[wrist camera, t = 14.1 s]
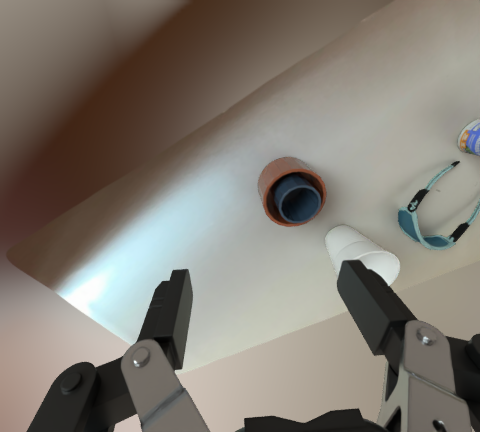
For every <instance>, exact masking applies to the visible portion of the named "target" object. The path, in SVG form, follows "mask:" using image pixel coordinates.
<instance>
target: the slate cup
mask: <svg viewBox="0 0 480 432" xmlns="http://www.w3.org/2000/svg"><path fill="white" fill-rule="evenodd" d="M270 192H271V194H272V196H273V199H274V201H275V203H276V205H277V207H278V210H279V212H280V214H281V216H282V217H283V218H284V219H285V220H286V221H288V222H291V223H303V222H306V221H308V220H310V219H311V218H313V217H314V216H315V215H316V214H317V212H318V210H319V209H320V205H321V198H320V194H319V193H318V191H317V190H316V189H315V188H314V187H313V186H312V185H311V184H310V183H309V182H308V181H307V179H306V178H305V177H304V176H303V175H302V174H301V173H300V172H291V173H289V174H286V175H283V176H282V177H280V178H279V179H278V180H276V181H275V182H274V183H273V185H272V186H271V187H270Z"/></svg>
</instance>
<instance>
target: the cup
mask: <svg viewBox="0 0 480 432" xmlns="http://www.w3.org/2000/svg"><path fill="white" fill-rule="evenodd" d="M325 244H326V247H327V250H328V253H329V256H330V258H331V261H332V264H333V267H334V270H335V273H336V275H337V278H338V276H339V272H340V268H341V264H342V261H344V260H356V259H358V260H360V261H361V262H362V263H363V264H364V265H365V267H366V268H367V269H372V270H373V271H375V272H376V273H377V274H379V275H380V276H381V277H382V278H383V279H384V280H385V281H386V283H387V284H388V286H390V285H391V284H392V283H393V282H394V280H395V279H396V278H397V276H398V274H399V271H400V262H399V260H398V258H397V257H396V256H395V255H394V254H393V253H390V252H388V251H386V250H384V249H383V248H381V247H380V246H378V245H377V244H375V243H374V242H372V241H371V240H369V239H368V238H366V237H365V236H364V235H362V234H361V233H359V232H358V231H356V230H355V229H353V228H352V227H350V226H347V225H341V226H337V227H335V228H333V229H332V230H330V231H329V232H328V234H327V235H326V238H325Z"/></svg>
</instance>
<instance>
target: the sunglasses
mask: <svg viewBox="0 0 480 432" xmlns="http://www.w3.org/2000/svg"><path fill="white" fill-rule="evenodd" d="M459 162H460V161H457V162H454V163H453V164H451V165H450V166H448V167H447V168H445V169H444V170H442V171H441V172H439V173H438V174H437V175H436V176H435V177H434V178H433V179H432V180H431V181H430V182H429V183H428V185H427V186H426V188H425V189H422V190H419V192H418V193H417V194H416V195H415V196H414V198H413V199H412V201H411V202H410V203H409V205H408V207H402V208H400V209H399V212H398V222H399V225H400V227H401V229H402V231H403V232H404V233H405V234H406V235H407V236H409V237H410V238H411V239H412V240H414V241H415V242H419V243H421V244H423V245H424V246H425V247H426V248H428V249H430V250H431V249H433V250H444V249H447V248H450V247H452V246H453V245H455V244H456V243H455V242H456V241H457V240H458V239H459V238H460V236H461V235H462V234H463V233H464V232H465V231H466V229H467V228H468V227H469V226H470V224H471V223H472V222H473V221H474V220H475V218H476V216H477V215H478V213H479V211H480V200H479V202H478V205H477V207H476V209H475V210H474V212H473V214H472V215H471V217H470V218H469V219H468V220H467V221H466V222H465V223H463V224H460V225H459V226H458V228H457V229H456V230H455V231H454V232H453V233H452V235H450V236H448V237H444V236H442V235H433V236H421V233H420V230H419V228H418V222H417V219H418V217H417V214H416V212H415V211H416V210H417V207H418V205H419V204H420V202H421V201H422V199H423V198H424V196H425V195H426V194H427V193H428V192H429V190H430V189H431V187H432V185H433V184H434V183H435V182H436V181H437V180H438V179H439V178H440V177H441V176H442V175H443V174H444V173H446V172H447V171H448V170H450V169H451V168H453V167H455V166H456V165H457V164H458V163H459ZM408 212H409V213H408ZM445 240H446V241H447V242H446V241H445Z"/></svg>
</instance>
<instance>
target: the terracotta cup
mask: <svg viewBox="0 0 480 432" xmlns="http://www.w3.org/2000/svg"><path fill="white" fill-rule="evenodd" d="M291 172H300V173H301V174H302V175H303V176H304V177H305V178H306V179H307V181H308V182H309V183H310V184H311V185H312V186H313V187H314V188H315V189H316V190H317V191H318V193H319V194H320V198H321V205H320V209H319V210H318V212H317V214H318V213H319V212H320V211H321V209H322V207H323V205H324V203H325V199H326V188H325V184H324V182H323V181H322V179H321V177H320V176H319V175H318V174H316V173H315V172H314V171H313V170H312V169H311V168H310V167H309V166H308V165H306V164H305V163H304V162H303V161H301V160H299V159H297V158H293V157H283V158H279V159H276V160H274V161H272V162H271V163H269V164H268V165H267V166H266V167H265V168H264V170H263V171H262V173H261V175H260V177H259V180H258V192H259V195H260V198H261V201H262V204H263V207H264V210H265V212H266V214H267V216H268V217H269V218H270V219H271V220H272V221H273V222H275V223H277V224H278V225H282V226H287V227H291V226H299V225H302V224H305V223H307V222H308V221H310V220H312V219H313V218H314V217H315V216H316V215H317V214H316V215H315V216H314V217H313V218H311V219H310V220H308V221H306V222H303V223H291V222H288V221H286V220H285V219H284V218H283V217H282V216H281V214H280V212H279V210H278V207H277V205H276V203H275V201H274V199H273V196H272V194H271V192H270V187H271V186H272V185H273V183H274V182H275V181H276V180H278V179H279V178H280V177H282V176H283V175H286V174H289V173H291Z"/></svg>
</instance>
